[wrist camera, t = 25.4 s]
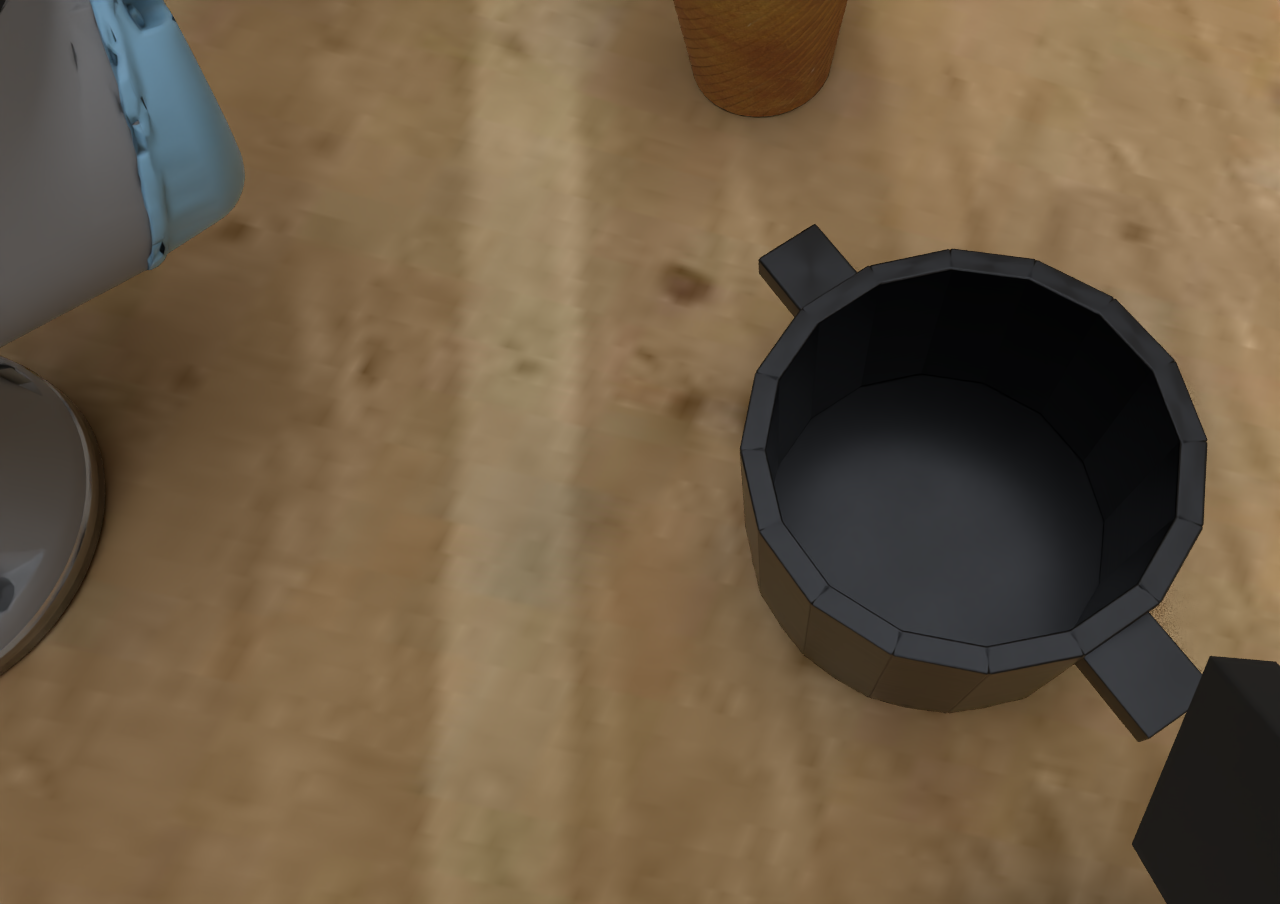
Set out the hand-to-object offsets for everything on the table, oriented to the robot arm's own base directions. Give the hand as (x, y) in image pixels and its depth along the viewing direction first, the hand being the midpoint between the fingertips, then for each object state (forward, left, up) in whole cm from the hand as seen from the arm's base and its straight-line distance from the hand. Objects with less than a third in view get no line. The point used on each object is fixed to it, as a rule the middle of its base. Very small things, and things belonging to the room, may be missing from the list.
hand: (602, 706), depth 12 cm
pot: (+10, +8, -28) cm, 31 cm away
